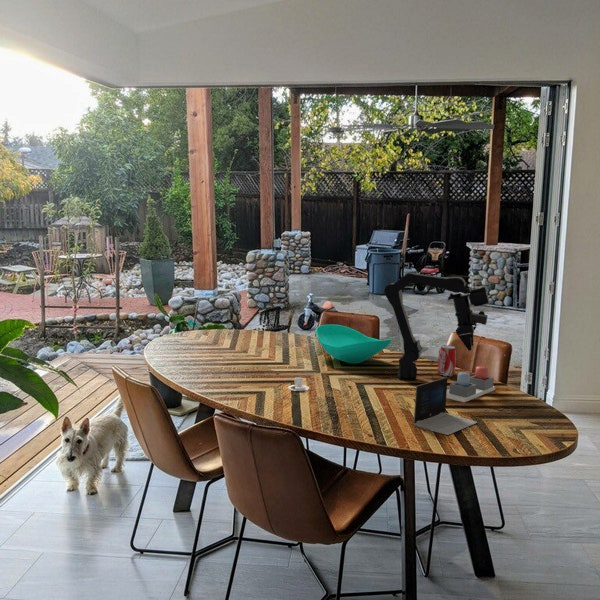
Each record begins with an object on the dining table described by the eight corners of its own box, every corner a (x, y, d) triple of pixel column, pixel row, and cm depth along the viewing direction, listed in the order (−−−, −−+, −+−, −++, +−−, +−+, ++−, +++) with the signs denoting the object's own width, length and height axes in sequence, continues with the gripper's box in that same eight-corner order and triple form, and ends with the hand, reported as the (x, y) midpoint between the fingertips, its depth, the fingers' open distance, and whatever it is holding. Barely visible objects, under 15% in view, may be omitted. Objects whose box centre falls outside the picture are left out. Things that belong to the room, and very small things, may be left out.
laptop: (447, 436, 195) (450, 395, 194) (413, 426, 204) (415, 386, 202) (477, 424, 208) (480, 385, 206) (444, 414, 217) (446, 376, 215)
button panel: (439, 396, 237) (440, 383, 236) (470, 384, 255) (471, 372, 254) (464, 402, 230) (465, 388, 230) (494, 390, 248) (495, 377, 247)
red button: (472, 380, 246) (473, 367, 245) (478, 378, 249) (479, 365, 248) (483, 383, 243) (484, 369, 242) (488, 381, 246) (489, 367, 246)
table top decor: (406, 367, 278) (408, 337, 276) (358, 375, 261) (360, 343, 260) (346, 349, 309) (347, 322, 307) (299, 355, 293) (300, 327, 291)
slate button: (454, 387, 236) (455, 373, 235) (460, 385, 239) (461, 371, 238) (465, 389, 233) (466, 375, 232) (471, 387, 236) (472, 373, 235)
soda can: (454, 377, 264) (457, 349, 262) (437, 376, 266) (439, 347, 264) (454, 373, 271) (456, 345, 269) (437, 372, 272) (439, 344, 271)
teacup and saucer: (304, 393, 235) (304, 383, 235) (283, 390, 238) (284, 380, 237) (312, 387, 243) (312, 377, 243) (292, 385, 246) (292, 374, 246)
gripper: (482, 308, 238) (490, 349, 239) (485, 302, 256) (493, 340, 256) (452, 313, 242) (460, 354, 243) (457, 307, 259) (465, 344, 260)
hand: (471, 348), depth 250 cm, fingers open, 9 cm apart
